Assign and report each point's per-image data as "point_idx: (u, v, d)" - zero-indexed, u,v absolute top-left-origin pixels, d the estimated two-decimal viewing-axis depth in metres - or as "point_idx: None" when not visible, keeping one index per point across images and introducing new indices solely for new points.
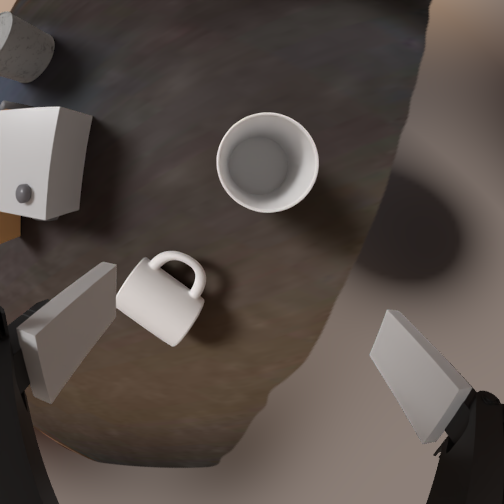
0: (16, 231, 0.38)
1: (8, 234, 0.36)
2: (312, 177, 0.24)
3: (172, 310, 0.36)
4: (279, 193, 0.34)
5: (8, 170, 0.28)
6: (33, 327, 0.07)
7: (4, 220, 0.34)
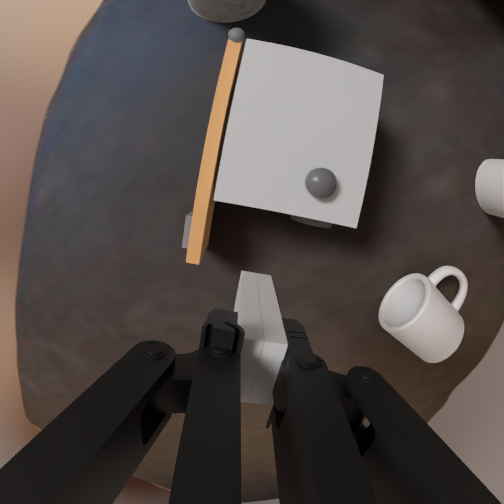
0: (208, 238, 0.32)
1: (205, 244, 0.30)
2: None
3: (454, 326, 0.30)
4: None
5: (279, 139, 0.22)
6: (254, 334, 0.09)
7: (208, 221, 0.28)
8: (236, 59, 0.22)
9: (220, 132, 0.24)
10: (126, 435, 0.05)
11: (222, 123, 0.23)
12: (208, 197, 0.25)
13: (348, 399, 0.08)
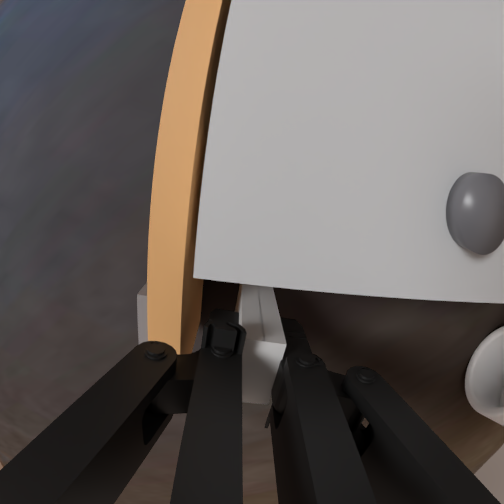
0: (198, 314, 0.16)
1: (192, 334, 0.14)
2: None
3: None
4: None
5: (380, 86, 0.06)
6: (255, 334, 0.09)
7: (192, 297, 0.12)
8: None
9: (203, 77, 0.08)
10: (127, 435, 0.05)
11: (208, 54, 0.08)
12: (182, 256, 0.09)
13: (347, 399, 0.08)
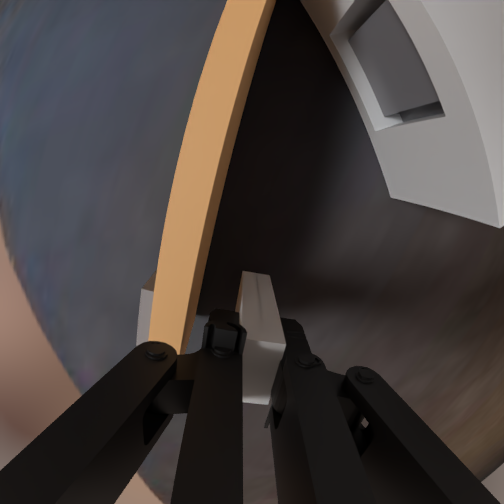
0: (195, 312, 0.16)
1: (189, 332, 0.14)
2: None
3: None
4: None
5: None
6: (256, 335, 0.09)
7: (194, 296, 0.12)
8: None
9: (238, 79, 0.08)
10: (128, 435, 0.05)
11: (245, 57, 0.08)
12: (194, 257, 0.09)
13: (346, 399, 0.08)
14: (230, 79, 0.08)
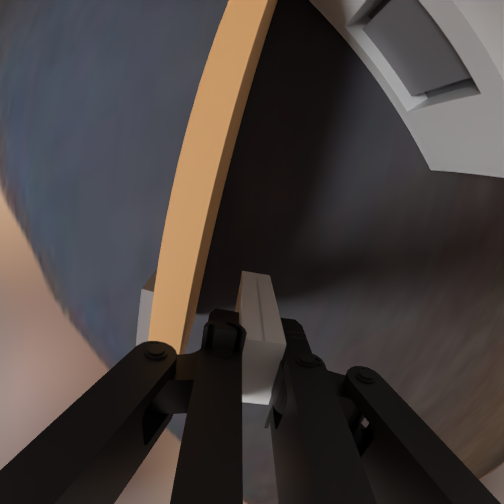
0: (194, 311, 0.16)
1: (188, 332, 0.14)
2: None
3: None
4: None
5: None
6: (255, 335, 0.09)
7: (194, 296, 0.12)
8: None
9: (238, 81, 0.08)
10: (127, 435, 0.05)
11: (246, 58, 0.08)
12: (194, 257, 0.09)
13: (347, 399, 0.08)
14: (231, 80, 0.08)
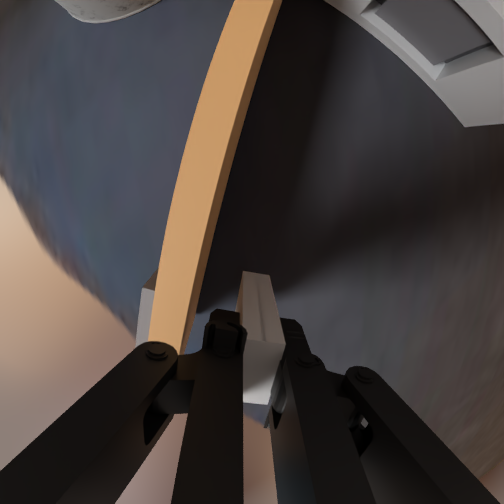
0: (194, 312, 0.16)
1: (188, 332, 0.14)
2: None
3: None
4: None
5: None
6: (256, 335, 0.09)
7: (195, 296, 0.12)
8: None
9: (243, 80, 0.08)
10: (128, 436, 0.05)
11: (251, 58, 0.08)
12: (196, 256, 0.09)
13: (346, 399, 0.08)
14: (236, 80, 0.08)
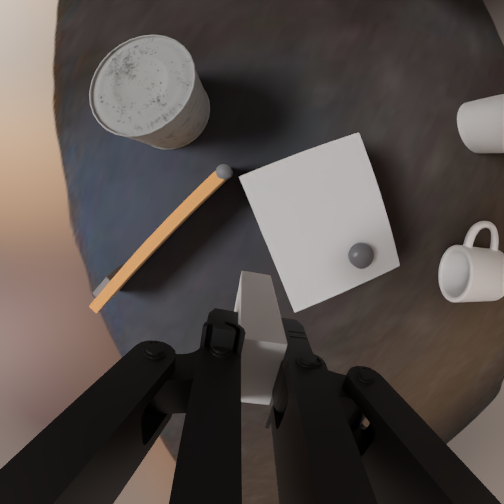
0: (118, 290, 0.36)
1: (112, 296, 0.34)
2: None
3: (500, 267, 0.31)
4: None
5: (315, 244, 0.28)
6: (254, 334, 0.09)
7: (120, 287, 0.32)
8: (207, 194, 0.28)
9: (158, 243, 0.29)
10: (126, 435, 0.05)
11: (164, 238, 0.29)
12: (124, 280, 0.30)
13: (348, 399, 0.08)
14: (156, 242, 0.29)
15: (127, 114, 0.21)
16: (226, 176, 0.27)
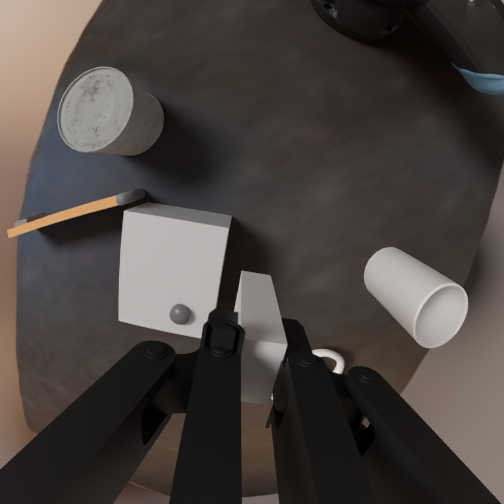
0: None
1: None
2: (460, 321, 0.29)
3: None
4: None
5: (151, 286, 0.34)
6: (254, 334, 0.09)
7: None
8: (105, 208, 0.33)
9: (62, 220, 0.33)
10: (126, 435, 0.05)
11: (67, 218, 0.33)
12: (33, 228, 0.33)
13: (348, 399, 0.08)
14: (61, 218, 0.33)
15: (75, 127, 0.26)
16: (121, 203, 0.33)
